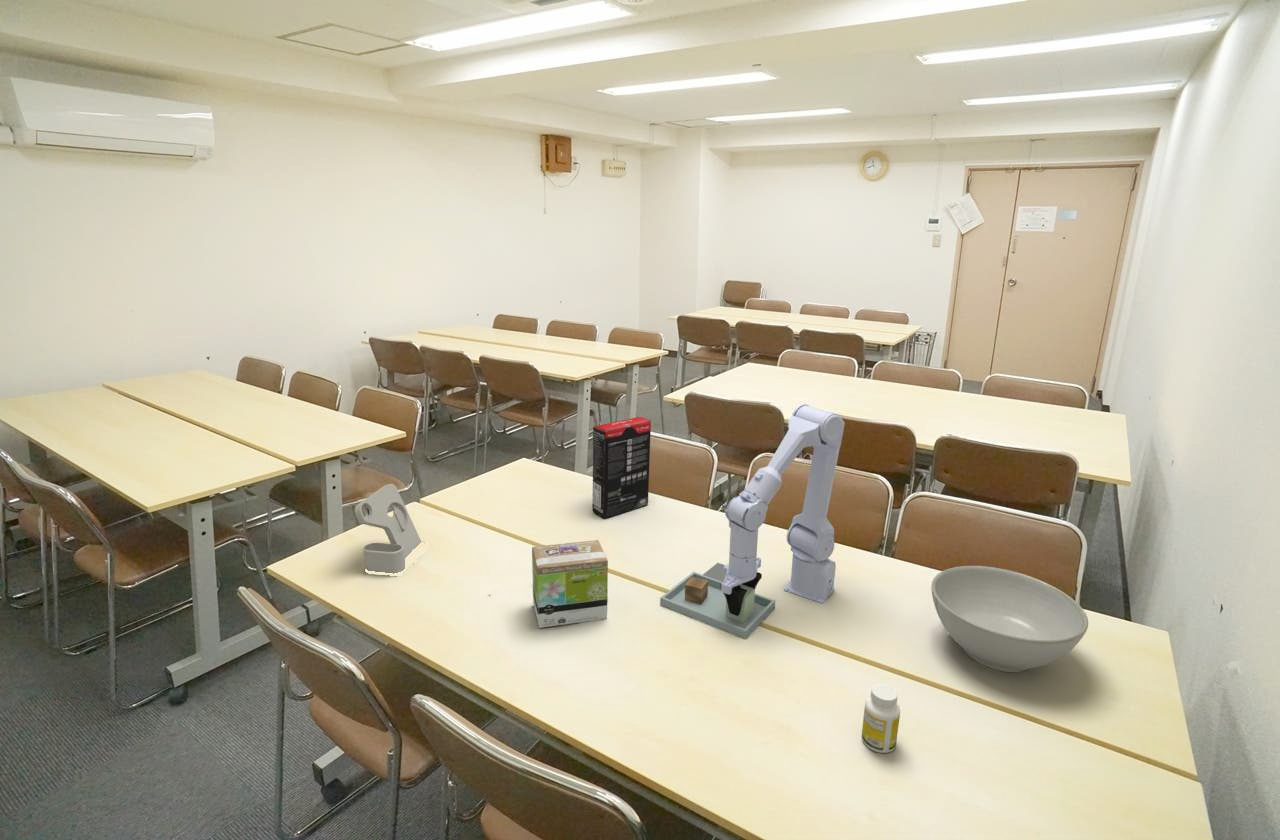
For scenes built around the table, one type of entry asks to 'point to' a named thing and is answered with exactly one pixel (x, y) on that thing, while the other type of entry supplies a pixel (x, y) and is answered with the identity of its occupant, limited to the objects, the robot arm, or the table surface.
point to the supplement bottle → (881, 719)
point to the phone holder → (388, 530)
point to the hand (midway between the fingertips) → (739, 608)
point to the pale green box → (744, 605)
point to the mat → (716, 572)
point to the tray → (716, 607)
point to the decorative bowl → (1007, 617)
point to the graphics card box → (621, 466)
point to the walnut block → (696, 590)
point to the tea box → (569, 583)
